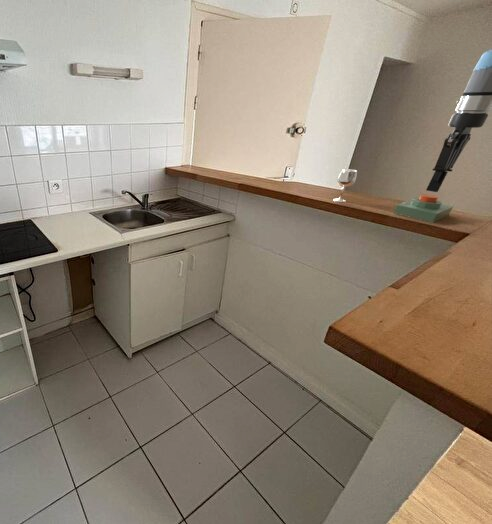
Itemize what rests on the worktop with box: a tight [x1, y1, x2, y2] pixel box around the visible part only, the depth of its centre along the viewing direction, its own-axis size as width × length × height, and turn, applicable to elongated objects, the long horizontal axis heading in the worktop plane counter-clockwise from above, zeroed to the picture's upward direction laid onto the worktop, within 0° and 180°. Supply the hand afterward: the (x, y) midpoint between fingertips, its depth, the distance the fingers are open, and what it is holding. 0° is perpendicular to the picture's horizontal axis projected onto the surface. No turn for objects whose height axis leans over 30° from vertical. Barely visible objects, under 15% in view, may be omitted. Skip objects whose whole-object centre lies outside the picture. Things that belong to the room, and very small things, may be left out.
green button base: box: [392, 197, 454, 223], centre depth 98 cm, size 14×11×5 cm
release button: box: [418, 193, 439, 203], centre depth 97 cm, size 4×4×2 cm
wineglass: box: [333, 168, 358, 203], centre depth 112 cm, size 6×6×12 cm
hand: (431, 190), depth 96 cm, fingers closed
